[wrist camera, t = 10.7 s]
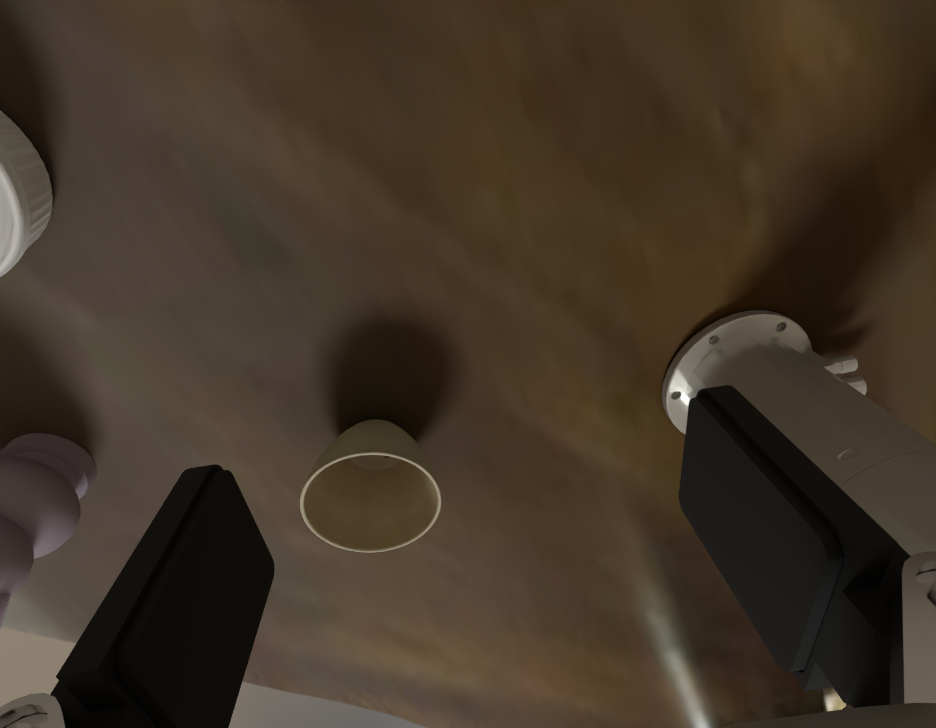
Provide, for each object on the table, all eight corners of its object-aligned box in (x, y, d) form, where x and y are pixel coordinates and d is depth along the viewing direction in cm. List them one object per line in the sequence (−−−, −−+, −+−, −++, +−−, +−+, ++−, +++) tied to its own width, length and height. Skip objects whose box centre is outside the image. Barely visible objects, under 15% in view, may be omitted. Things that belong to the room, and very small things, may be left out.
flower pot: (294, 413, 39) (275, 476, 33) (415, 379, 39) (418, 436, 33) (341, 499, 45) (332, 567, 38) (448, 470, 44) (456, 533, 38)
